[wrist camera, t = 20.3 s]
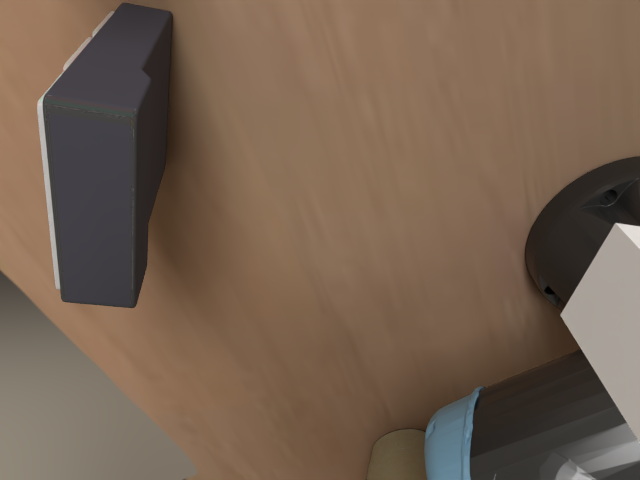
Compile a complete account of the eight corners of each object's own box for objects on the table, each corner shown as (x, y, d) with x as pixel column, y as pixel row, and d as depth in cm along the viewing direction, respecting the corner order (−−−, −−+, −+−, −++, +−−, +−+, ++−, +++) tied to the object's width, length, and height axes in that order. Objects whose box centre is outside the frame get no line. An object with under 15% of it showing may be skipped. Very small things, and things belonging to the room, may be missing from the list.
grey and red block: (109, -3, 32) (18, 93, 20) (183, 11, 33) (136, 111, 21) (112, 159, 39) (44, 304, 27) (174, 167, 39) (135, 312, 27)
